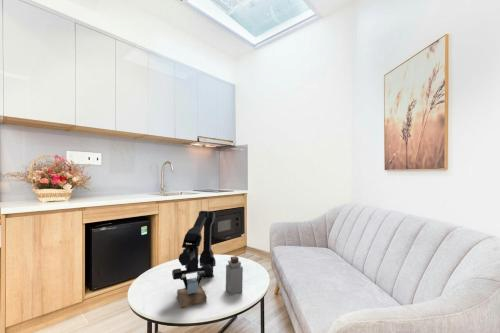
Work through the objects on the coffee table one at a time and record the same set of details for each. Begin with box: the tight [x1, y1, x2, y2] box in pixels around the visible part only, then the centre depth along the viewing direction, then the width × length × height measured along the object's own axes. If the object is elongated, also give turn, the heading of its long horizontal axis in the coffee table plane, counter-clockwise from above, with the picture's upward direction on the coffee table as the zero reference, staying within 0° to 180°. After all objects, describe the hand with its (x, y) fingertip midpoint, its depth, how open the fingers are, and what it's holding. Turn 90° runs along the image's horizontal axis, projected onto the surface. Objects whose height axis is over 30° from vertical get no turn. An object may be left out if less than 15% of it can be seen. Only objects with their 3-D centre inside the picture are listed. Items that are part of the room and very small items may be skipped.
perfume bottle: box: [225, 255, 244, 297], centre depth 121 cm, size 7×7×18 cm
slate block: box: [186, 277, 198, 294], centre depth 113 cm, size 5×5×5 cm
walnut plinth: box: [176, 284, 208, 309], centre depth 113 cm, size 12×12×3 cm
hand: (191, 288), depth 113 cm, fingers closed on slate block, 5 cm apart
